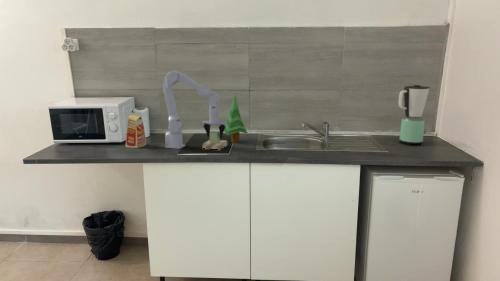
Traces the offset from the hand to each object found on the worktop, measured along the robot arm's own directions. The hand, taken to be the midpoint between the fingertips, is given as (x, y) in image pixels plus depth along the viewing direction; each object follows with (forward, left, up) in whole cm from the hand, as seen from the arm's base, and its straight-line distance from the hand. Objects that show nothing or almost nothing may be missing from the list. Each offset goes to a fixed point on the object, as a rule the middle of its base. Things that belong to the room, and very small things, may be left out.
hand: (214, 137), depth 211 cm
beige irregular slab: (0, 0, -6) cm, 6 cm away
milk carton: (-46, -10, -6) cm, 47 cm away
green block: (0, 0, -3) cm, 3 cm away
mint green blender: (+110, +43, -6) cm, 118 cm away
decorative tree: (+7, +16, -6) cm, 19 cm away
